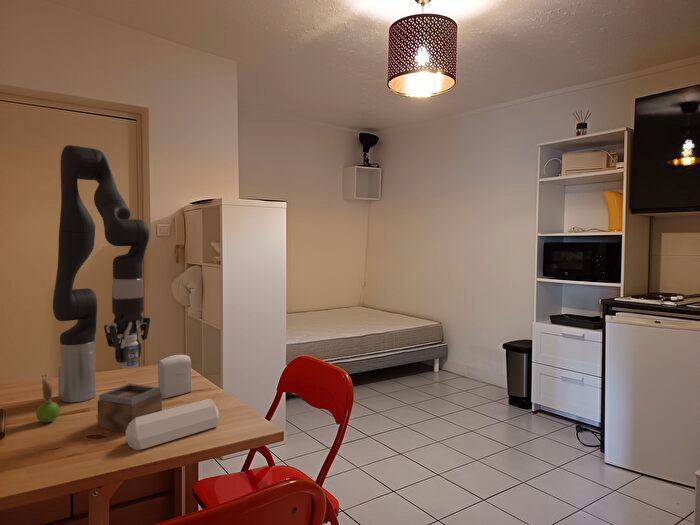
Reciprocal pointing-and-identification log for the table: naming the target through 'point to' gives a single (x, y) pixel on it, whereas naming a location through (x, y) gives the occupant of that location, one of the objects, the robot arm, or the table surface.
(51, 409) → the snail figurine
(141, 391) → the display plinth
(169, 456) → the table surface
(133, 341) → the pill bottle
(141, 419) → the crystal
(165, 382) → the photo printer
